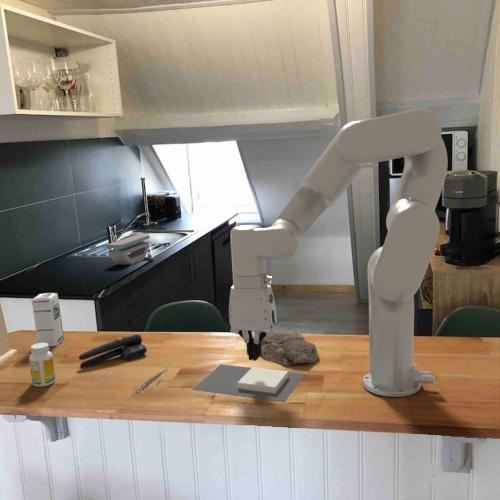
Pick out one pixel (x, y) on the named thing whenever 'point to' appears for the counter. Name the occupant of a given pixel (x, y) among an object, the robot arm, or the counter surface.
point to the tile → (263, 380)
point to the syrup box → (48, 319)
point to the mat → (229, 376)
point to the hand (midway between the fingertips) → (254, 358)
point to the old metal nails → (151, 381)
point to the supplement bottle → (41, 365)
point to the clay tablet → (288, 349)
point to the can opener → (115, 350)
